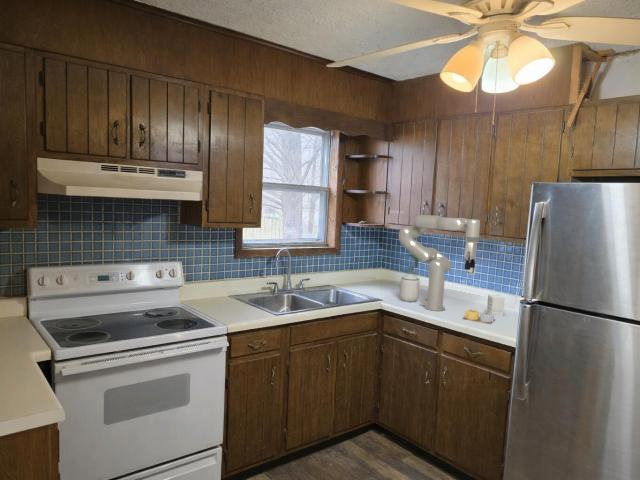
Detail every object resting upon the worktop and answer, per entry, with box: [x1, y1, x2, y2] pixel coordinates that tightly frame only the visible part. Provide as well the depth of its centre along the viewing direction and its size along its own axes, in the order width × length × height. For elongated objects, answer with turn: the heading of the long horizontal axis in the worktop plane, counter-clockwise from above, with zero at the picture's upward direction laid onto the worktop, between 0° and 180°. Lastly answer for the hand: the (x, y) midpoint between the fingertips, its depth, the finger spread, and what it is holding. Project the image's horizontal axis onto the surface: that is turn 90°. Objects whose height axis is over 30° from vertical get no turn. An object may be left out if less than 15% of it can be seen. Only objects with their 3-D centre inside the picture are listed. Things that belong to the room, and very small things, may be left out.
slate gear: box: [479, 311, 495, 323], centre depth 266 cm, size 7×7×4 cm
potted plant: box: [399, 253, 421, 303], centre depth 312 cm, size 12×12×31 cm
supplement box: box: [486, 294, 505, 318], centre depth 280 cm, size 7×7×13 cm
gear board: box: [461, 310, 496, 325], centre depth 268 cm, size 16×13×7 cm
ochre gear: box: [464, 309, 480, 320], centre depth 270 cm, size 7×7×4 cm
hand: (469, 268), depth 279 cm, fingers open, 9 cm apart
